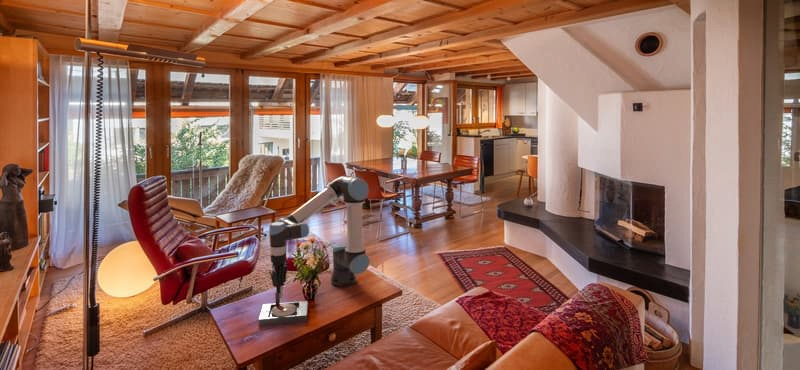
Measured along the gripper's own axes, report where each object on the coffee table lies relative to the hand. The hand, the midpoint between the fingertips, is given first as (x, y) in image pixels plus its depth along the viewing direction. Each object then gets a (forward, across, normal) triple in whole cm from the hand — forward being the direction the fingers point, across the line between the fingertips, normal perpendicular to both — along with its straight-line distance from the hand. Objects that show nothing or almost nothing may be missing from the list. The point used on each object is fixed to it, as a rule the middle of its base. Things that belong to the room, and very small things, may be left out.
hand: (280, 297), depth 210 cm
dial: (+5, +5, +5) cm, 9 cm away
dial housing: (+7, +5, +6) cm, 10 cm away
